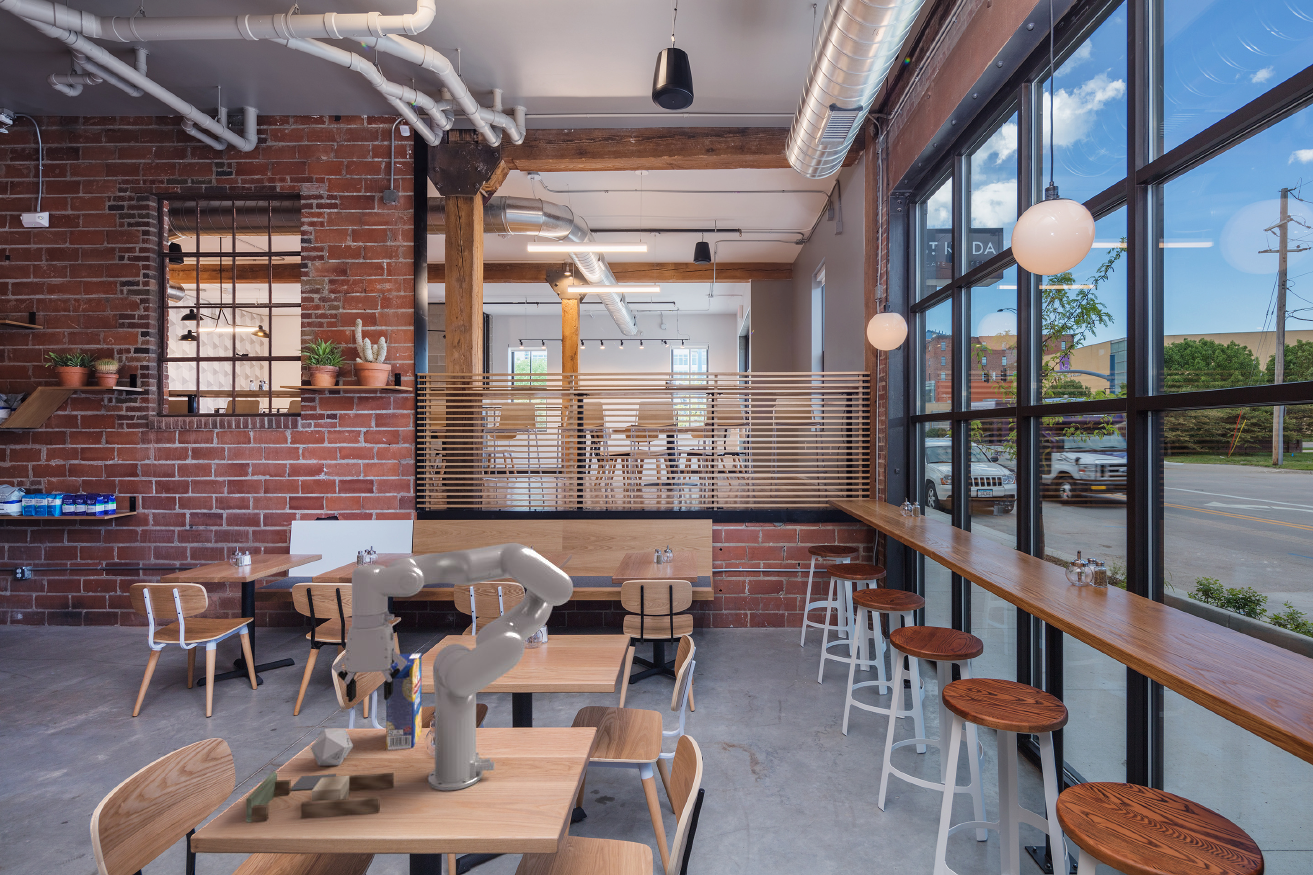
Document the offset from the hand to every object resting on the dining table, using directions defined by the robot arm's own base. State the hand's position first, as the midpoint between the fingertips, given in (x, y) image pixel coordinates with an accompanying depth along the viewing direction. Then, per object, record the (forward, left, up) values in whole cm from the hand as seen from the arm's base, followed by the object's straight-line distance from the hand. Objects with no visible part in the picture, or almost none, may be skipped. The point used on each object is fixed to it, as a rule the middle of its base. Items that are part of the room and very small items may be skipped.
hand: (370, 698), depth 149 cm
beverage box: (0, -31, -23) cm, 39 cm away
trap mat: (+16, -10, -23) cm, 29 cm away
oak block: (+8, 0, -23) cm, 24 cm away
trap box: (+9, 0, -23) cm, 25 cm away
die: (+15, -20, -23) cm, 34 cm away
